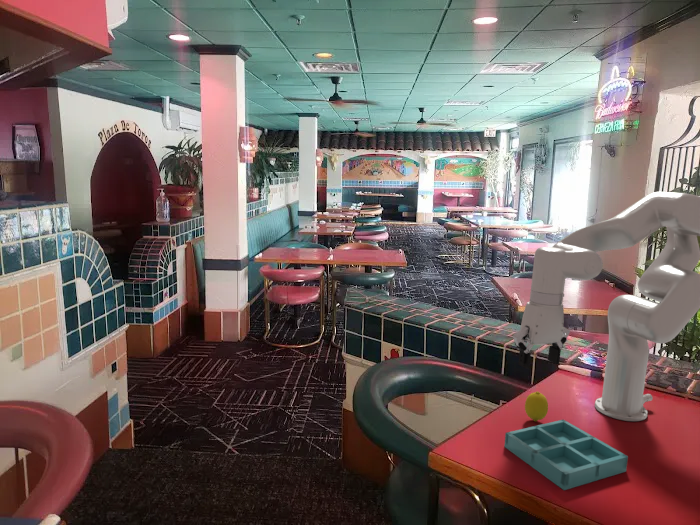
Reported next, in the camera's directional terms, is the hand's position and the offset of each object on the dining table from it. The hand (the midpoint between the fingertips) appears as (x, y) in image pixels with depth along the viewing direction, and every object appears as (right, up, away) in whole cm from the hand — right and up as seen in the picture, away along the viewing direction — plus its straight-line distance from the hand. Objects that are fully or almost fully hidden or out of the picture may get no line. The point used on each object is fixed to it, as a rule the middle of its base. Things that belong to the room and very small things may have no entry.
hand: (538, 364), depth 131 cm
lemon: (0, -15, +3) cm, 15 cm away
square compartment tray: (0, -18, -14) cm, 23 cm away
